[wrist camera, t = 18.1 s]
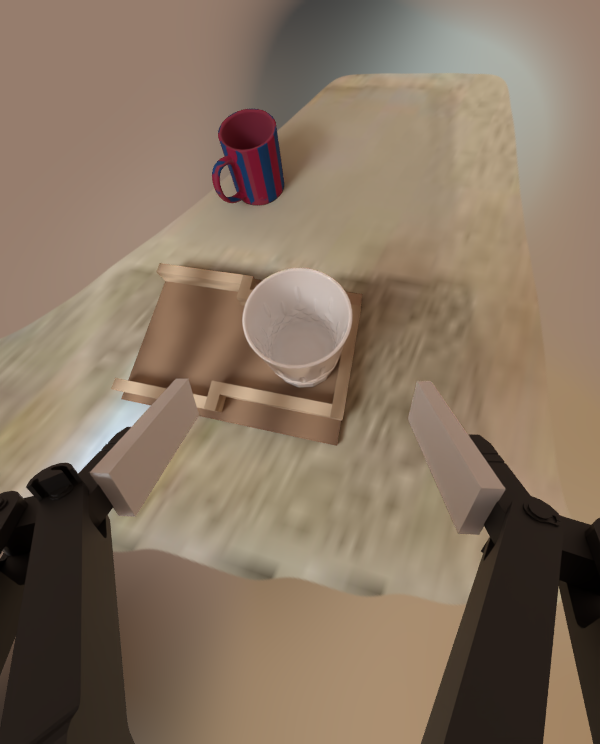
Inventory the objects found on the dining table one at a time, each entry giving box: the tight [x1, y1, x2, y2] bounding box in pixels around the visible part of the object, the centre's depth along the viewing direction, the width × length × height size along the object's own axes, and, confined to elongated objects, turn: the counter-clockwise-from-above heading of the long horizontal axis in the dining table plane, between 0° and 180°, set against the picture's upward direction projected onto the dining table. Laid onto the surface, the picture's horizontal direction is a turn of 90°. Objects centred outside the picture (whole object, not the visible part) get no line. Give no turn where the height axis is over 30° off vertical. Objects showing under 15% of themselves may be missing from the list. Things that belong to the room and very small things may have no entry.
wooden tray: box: [111, 263, 362, 446], centre depth 28 cm, size 24×17×3 cm
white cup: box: [243, 268, 352, 388], centre depth 23 cm, size 8×8×10 cm
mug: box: [212, 109, 284, 205], centre depth 32 cm, size 7×10×7 cm
